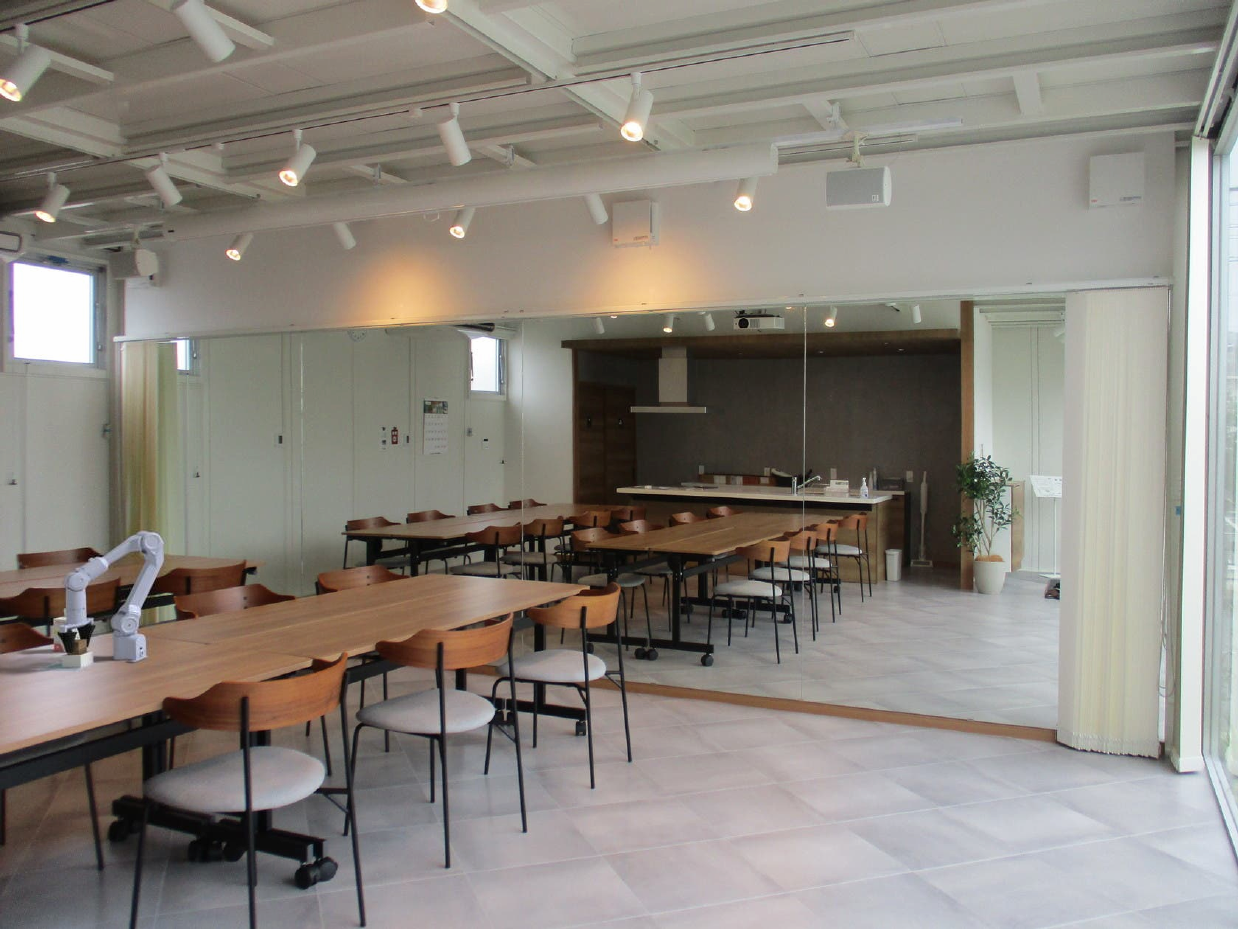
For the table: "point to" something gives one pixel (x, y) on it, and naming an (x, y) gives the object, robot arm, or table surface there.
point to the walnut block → (79, 647)
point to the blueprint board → (59, 667)
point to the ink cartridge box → (57, 623)
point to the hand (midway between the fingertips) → (77, 650)
